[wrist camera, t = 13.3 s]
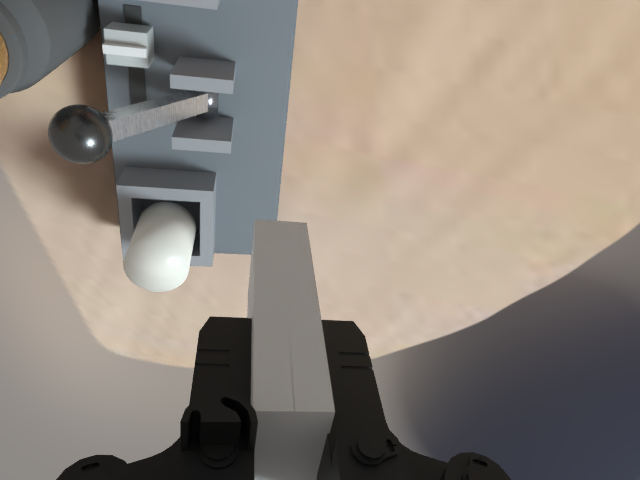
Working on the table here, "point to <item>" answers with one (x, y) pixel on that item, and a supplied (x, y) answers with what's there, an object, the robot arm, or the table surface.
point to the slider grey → (129, 44)
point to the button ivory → (161, 247)
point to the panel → (206, 134)
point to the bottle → (41, 38)
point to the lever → (122, 123)
